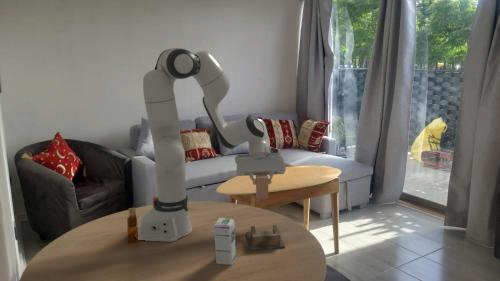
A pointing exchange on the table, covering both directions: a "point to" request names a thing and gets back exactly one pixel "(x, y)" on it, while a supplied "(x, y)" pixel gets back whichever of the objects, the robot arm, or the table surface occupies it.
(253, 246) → the stop cradle
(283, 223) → the table surface
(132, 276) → the table surface
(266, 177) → the block
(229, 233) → the syrup box
